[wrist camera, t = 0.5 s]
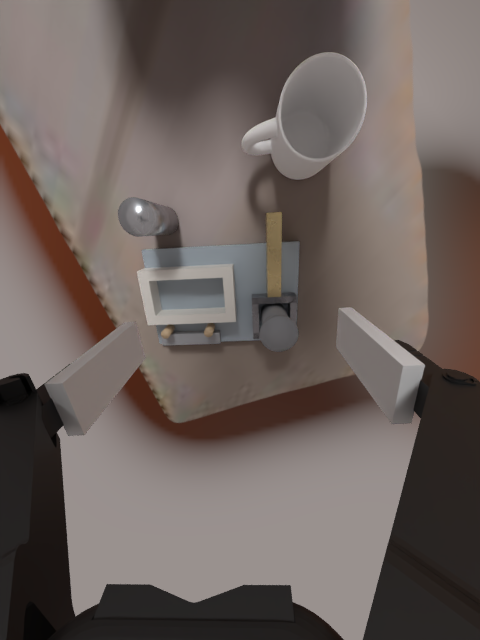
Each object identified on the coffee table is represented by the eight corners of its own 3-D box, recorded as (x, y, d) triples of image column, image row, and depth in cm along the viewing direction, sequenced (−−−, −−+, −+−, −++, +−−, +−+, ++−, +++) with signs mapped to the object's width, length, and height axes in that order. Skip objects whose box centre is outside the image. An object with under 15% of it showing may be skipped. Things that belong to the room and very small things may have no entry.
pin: (150, 206, 35) (114, 198, 26) (176, 205, 35) (150, 196, 26) (154, 235, 37) (122, 237, 27) (180, 233, 36) (156, 235, 27)
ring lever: (248, 214, 34) (248, 213, 31) (296, 212, 33) (300, 210, 31) (253, 332, 40) (253, 338, 38) (293, 331, 40) (295, 337, 38)
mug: (246, 190, 34) (245, 175, 24) (237, 120, 31) (232, 71, 21) (331, 175, 33) (366, 153, 23) (330, 101, 30) (369, 41, 20)
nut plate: (144, 249, 37) (110, 256, 28) (298, 241, 36) (315, 245, 27) (162, 340, 43) (138, 371, 34) (294, 336, 42) (308, 366, 32)
